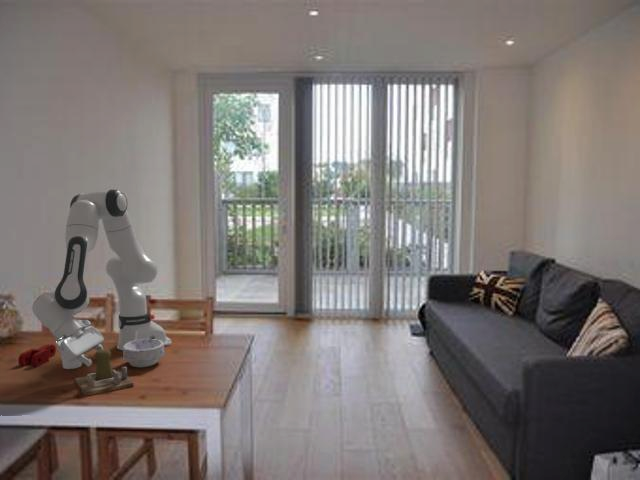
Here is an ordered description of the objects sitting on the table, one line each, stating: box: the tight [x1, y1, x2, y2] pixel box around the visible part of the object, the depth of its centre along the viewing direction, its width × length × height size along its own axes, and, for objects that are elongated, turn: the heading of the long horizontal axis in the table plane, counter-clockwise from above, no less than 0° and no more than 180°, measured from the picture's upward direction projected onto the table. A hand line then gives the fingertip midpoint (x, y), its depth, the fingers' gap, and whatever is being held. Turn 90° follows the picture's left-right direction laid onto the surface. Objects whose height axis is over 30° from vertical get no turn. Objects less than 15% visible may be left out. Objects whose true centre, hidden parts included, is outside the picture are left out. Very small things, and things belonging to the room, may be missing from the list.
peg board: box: [75, 366, 135, 397], centre depth 196 cm, size 16×16×5 cm
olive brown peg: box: [94, 348, 113, 381], centre depth 195 cm, size 6×6×11 cm
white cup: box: [60, 353, 83, 370], centre depth 214 cm, size 8×8×10 cm
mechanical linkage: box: [17, 344, 57, 368], centre depth 220 cm, size 16×7×5 cm, turn 171°
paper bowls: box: [122, 339, 165, 368], centre depth 217 cm, size 15×15×8 cm
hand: (97, 360), depth 195 cm, fingers open, 8 cm apart
